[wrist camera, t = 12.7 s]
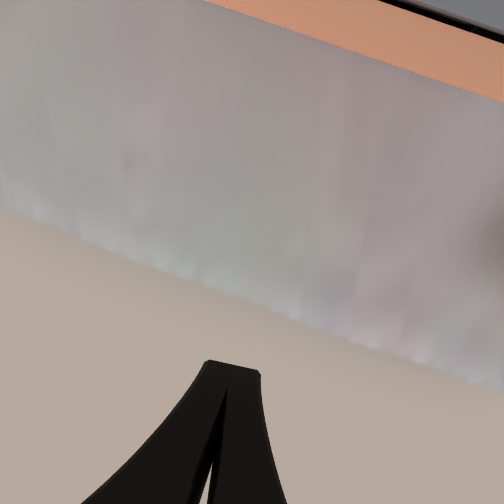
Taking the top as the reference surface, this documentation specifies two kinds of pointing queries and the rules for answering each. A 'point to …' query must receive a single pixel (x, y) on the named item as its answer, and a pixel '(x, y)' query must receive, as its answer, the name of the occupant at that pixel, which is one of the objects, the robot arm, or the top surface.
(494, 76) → the drawer
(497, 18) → the storage box
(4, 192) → the top surface
